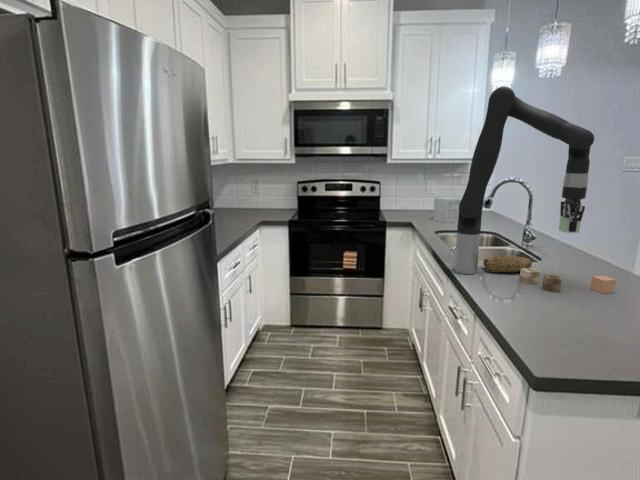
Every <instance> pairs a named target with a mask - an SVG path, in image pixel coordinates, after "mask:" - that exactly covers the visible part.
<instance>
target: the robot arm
mask: <svg viewBox="0 0 640 480" xmlns="http://www.w3.org/2000/svg"><path fill="white" fill-rule="evenodd" d="M509 117H510V118H513V119H516V120H518V121H521V122H523V123H525V124H527V125H528V126H530V127H532V128H534V129H535V130H537V131H539V132H541V133H543V134H545V135H547V136H549V137H550V138H553V139H556V140H559V141H561V142H563V143H565V144H567V145H568V155H567V163H566V169H565V175H564V178H563V183H562V184H563V185H562V189H561V190H562V191H561V198H562V199H565V200H564V201H560V210H559V211H560V213H559V215H560V216H559V217H570V225H569V231H570V232H576V227H577V222H579V221H581V222H582V219H583V215H584V213H585V210H586V206H585V205H582V204H581V201H582V200H584V199H586V195H587V189H588V184H589V183H588V182H589V171H590V163H591V162H590V152H591V146H592V145H593V144H594V143H595V142H594V141H595V135H594V133H593V132H592V131H590V130H589V129H586V128H584V127H582V126H580V125H576V124H574V123H571V122H569V121H568V120H566V119H564V118H562V117H560V116H559V115H556V114H554V113H551V112H550V111H549V112H548V111H546V110H543V109H540V108H538V107H535V106H532V105H530V104H528V103H526V102H525V101H523V100H522V99H521V98H519V97H517V96H516V94H515V92H514V90H513V89H512V88H510V87H508V86H500V87H497V88H495V90H493V91H492V92H491V94H490V95H489V97H488V103H487V110H486V114H485V119H484V124H483V126H482V129H481V131H480V134H479V137H478V139H477V143H476V146H475V147H474V152H473V154H472V155H473V156H472V158H471V163H470V168H469V175H468V179H467V180H468V181H467V184H466V186H465V187H466V188H465V189H464V190H465V191H464V193H463V194H462V195H463V196H462V198H460V203H459V216H458V222H457V229H456V231H457V232H456V243H455V244H456V245H455V248H454V251H453V252H454V254H453V266H452V267H453V268H452V269H453V271H454V272H455V273H456V274H457V273H458V274H464V275H474V274H477V273H478V264H479V262H478V261H479V251H480V241H481V231H482V230H481V228H482V218H483V217H482V216H483V215H482V214H483V208H484V206H483V205H484V200H485V195H486V191H487V187H488V184H489V182H490V179H491V178H492V175H493V173H494V171H495V168H496V165H497V162H498V158H499V155H500V152H501V149H502V148H501V147H502V142H503V137H504V131H505V130H504V129H505V125H506V122H507V120H508V118H509Z"/></svg>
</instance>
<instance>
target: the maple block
mask: <svg viewBox="0 0 640 480" xmlns="http://www.w3.org/2000/svg"><path fill="white" fill-rule="evenodd" d="M519 272H520V273H519V281H520V282H522V283H524V284H525V285H539V284H540V276H541V275H540V274H541V271H539V270H537V269H535V268H534V267H530V268H521V270H520V271H519Z"/></svg>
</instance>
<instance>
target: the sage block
mask: <svg viewBox="0 0 640 480" xmlns="http://www.w3.org/2000/svg"><path fill="white" fill-rule="evenodd" d="M581 222H582V220H581V221H579V222H577V227H576V232H570V231H569V225H570V217H561V216H559V226H558V231H560V232H562V233H569V234H571V233H572V234H573V233H576V234H577V233H579V234H580V228H581Z"/></svg>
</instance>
